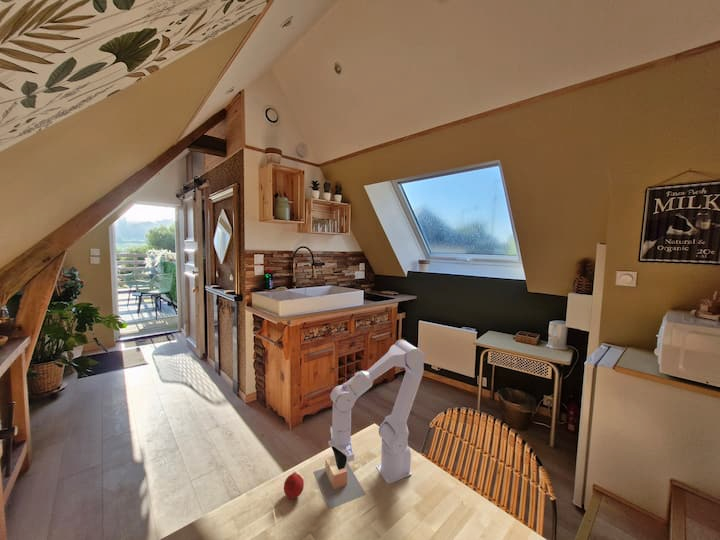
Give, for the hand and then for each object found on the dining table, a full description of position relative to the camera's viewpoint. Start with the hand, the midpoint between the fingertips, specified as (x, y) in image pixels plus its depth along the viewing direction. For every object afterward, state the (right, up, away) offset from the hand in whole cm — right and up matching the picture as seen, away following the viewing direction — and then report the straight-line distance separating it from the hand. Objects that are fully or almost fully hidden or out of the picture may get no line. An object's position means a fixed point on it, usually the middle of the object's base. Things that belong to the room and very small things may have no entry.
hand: (340, 467), depth 90 cm
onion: (-14, -7, -3) cm, 16 cm away
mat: (-1, -7, +2) cm, 7 cm away
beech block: (0, -4, 0) cm, 4 cm away
